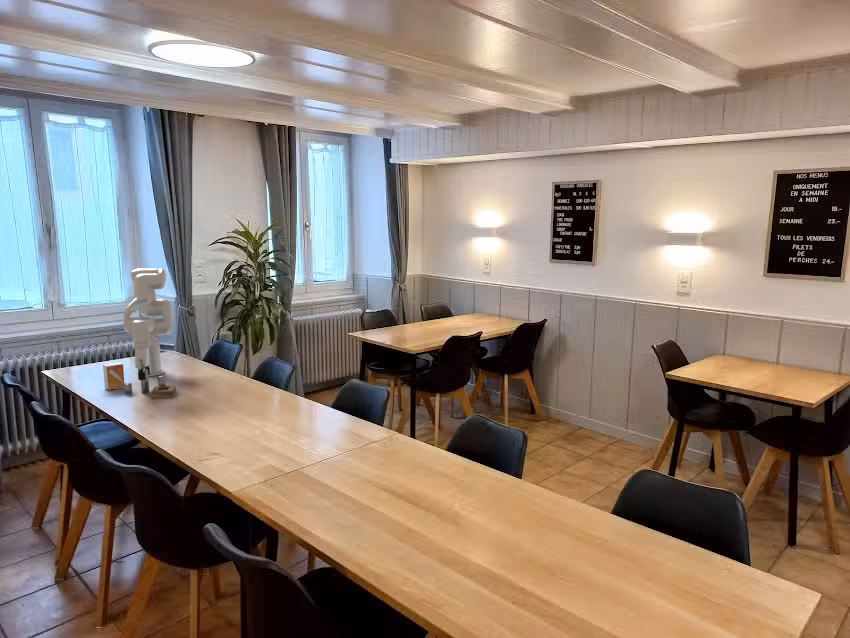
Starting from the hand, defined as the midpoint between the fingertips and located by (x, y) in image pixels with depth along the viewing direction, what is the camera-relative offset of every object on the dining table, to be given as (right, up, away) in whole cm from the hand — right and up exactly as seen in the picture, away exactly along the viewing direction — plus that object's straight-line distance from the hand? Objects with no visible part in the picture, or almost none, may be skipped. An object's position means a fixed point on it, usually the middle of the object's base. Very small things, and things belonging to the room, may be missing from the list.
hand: (144, 377), depth 294 cm
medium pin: (+8, -8, +4) cm, 11 cm away
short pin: (-8, -8, 0) cm, 11 cm away
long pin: (0, -8, +2) cm, 8 cm away
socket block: (+11, -9, -2) cm, 14 cm away
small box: (-19, -7, +9) cm, 22 cm away
